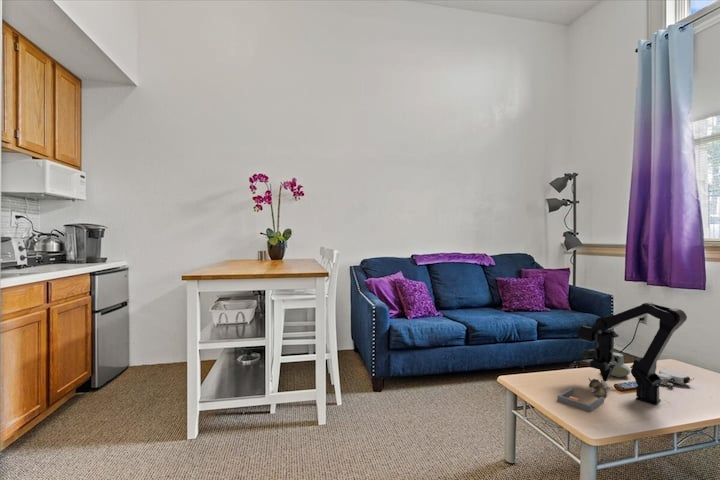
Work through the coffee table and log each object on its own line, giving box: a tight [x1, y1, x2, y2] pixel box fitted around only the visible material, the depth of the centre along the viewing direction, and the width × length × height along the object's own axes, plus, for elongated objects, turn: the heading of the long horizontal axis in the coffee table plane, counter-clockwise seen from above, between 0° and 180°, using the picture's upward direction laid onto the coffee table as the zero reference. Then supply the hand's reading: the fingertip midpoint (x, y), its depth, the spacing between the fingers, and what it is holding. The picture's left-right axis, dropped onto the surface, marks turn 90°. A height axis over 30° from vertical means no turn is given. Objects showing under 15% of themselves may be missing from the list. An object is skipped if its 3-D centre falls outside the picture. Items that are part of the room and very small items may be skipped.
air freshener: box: [610, 351, 631, 378], centre depth 174 cm, size 11×8×10 cm
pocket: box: [556, 387, 605, 413], centre depth 145 cm, size 12×13×3 cm
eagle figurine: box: [588, 377, 608, 399], centre depth 152 cm, size 8×7×9 cm
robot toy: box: [656, 368, 696, 387], centre depth 165 cm, size 12×4×15 cm
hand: (604, 381), depth 160 cm, fingers closed
